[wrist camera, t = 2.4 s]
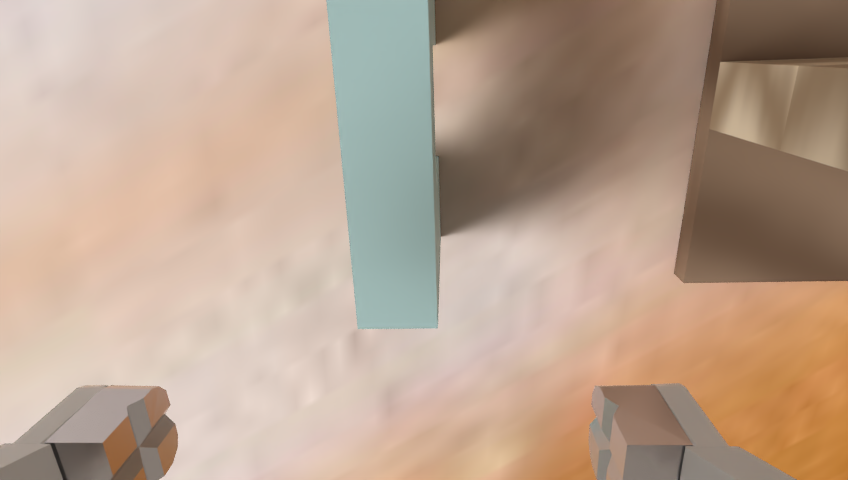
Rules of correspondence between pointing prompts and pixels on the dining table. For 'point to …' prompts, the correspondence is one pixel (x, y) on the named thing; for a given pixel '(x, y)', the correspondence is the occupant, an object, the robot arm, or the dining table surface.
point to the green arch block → (389, 157)
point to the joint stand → (770, 147)
